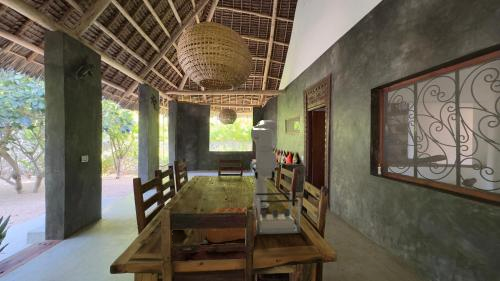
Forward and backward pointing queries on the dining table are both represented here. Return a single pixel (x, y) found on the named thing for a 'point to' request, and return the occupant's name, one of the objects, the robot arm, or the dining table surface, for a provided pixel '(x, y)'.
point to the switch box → (276, 222)
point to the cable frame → (296, 228)
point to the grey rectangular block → (263, 213)
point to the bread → (228, 229)
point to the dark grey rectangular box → (275, 213)
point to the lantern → (198, 235)
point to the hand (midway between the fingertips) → (264, 178)
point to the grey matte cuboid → (286, 212)
